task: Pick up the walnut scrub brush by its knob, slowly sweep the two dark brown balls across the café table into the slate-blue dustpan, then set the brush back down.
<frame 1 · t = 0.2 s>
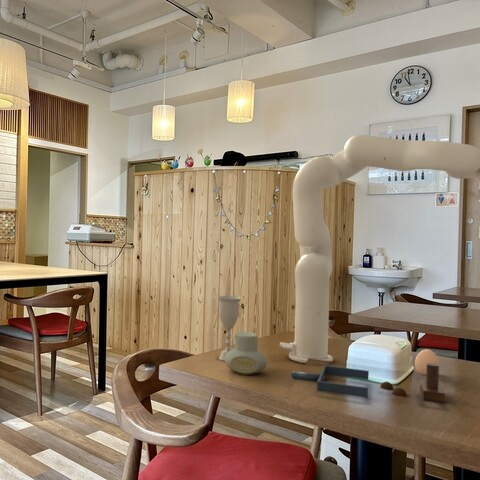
crumb b: (399, 394, 108), point 1 cm above the table
chalice: (227, 359, 142), on the table
crumb a: (386, 387, 113), point 1 cm above the table
dustpan: (344, 390, 115), on the table
brush: (431, 402, 107), on the table
air freshener: (245, 372, 128), on the table
egg: (426, 379, 127), on the table
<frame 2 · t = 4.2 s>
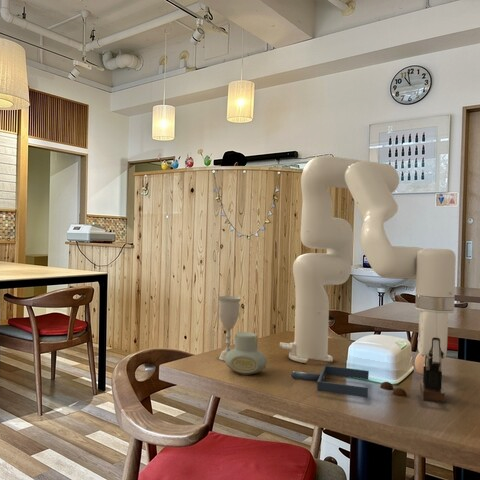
hand: (432, 386, 107), 4 cm above the table, tool pointing down, fingers closed on brush, 2 cm apart
brush: (431, 402, 107), on the table, touching gripper
everything else where it was.
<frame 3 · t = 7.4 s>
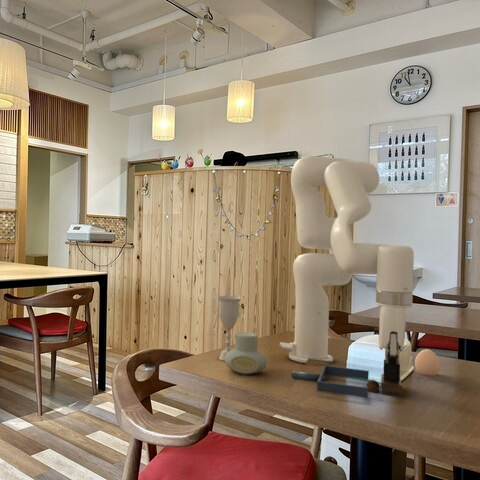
hand: (391, 378, 111), 4 cm above the table, tool pointing down, fingers closed on brush, 2 cm apart
crumb b: (372, 390, 110), point 1 cm above the table, tilted 135°
crumb a: (373, 386, 114), point 1 cm above the table, tilted 121°
brush: (390, 394, 111), on the table, touching gripper
everything else where it was.
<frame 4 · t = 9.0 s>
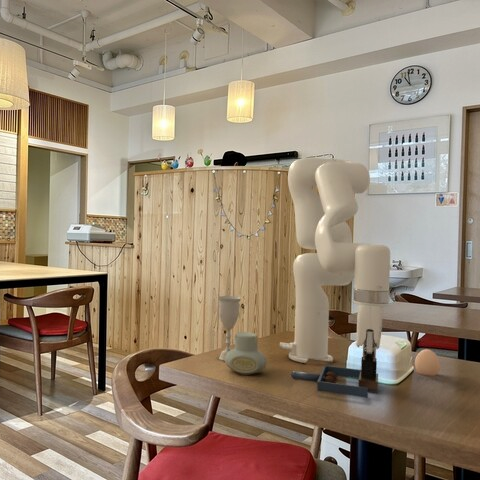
hand: (368, 375, 113), 4 cm above the table, tool pointing down, fingers closed on brush, 2 cm apart
crumb b: (329, 382, 114), point 2 cm above the table, tilted 110°, touching dustpan
crumb a: (330, 377, 119), point 2 cm above the table, tilted 152°, touching dustpan
brush: (368, 391, 113), on the table, touching gripper
everything else where it was.
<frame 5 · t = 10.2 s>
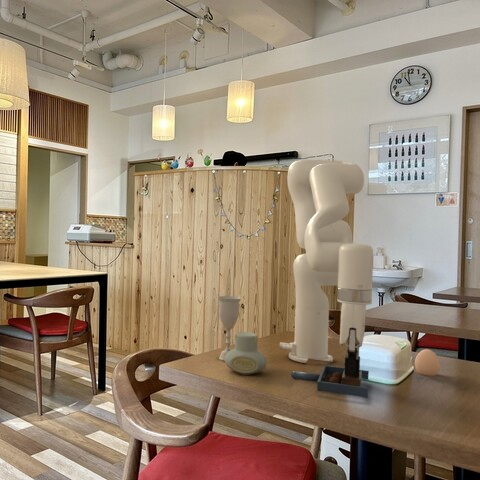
hand: (352, 373, 114), 4 cm above the table, tool pointing down, fingers closed on brush, 2 cm apart
crumb b: (335, 383, 114), point 2 cm above the table, tilted 161°, touching dustpan
crumb a: (337, 378, 118), point 2 cm above the table, tilted 91°, touching dustpan
brush: (351, 389, 114), on the table, touching gripper
everything else where it was.
when the fingers open (4 cm above the table, at t = 18.5 s): brush stays where it is, on the table.
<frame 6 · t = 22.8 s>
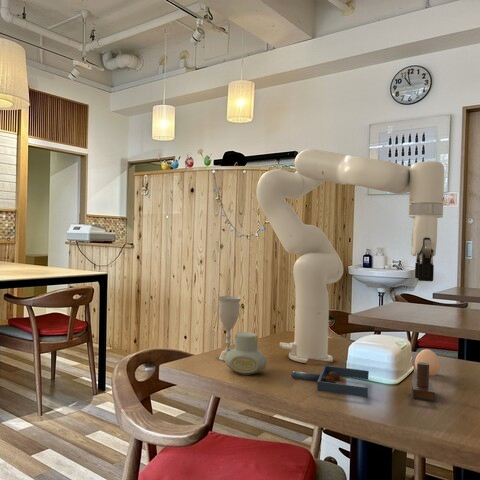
hand: (423, 279, 121), 26 cm above the table, tool pointing down, fingers open, 9 cm apart
crumb b: (329, 382, 114), point 2 cm above the table, tilted 110°, touching dustpan
crumb a: (333, 377, 119), point 2 cm above the table, tilted 128°, touching dustpan
brush: (422, 401, 108), on the table
everything else where it was.
at the end: crumb a inside the target area in the dustpan (4.3 cm from its centre), point 1.8 cm above the dustpan's base; crumb b inside the target area in the dustpan (3.8 cm from its centre), point 1.8 cm above the dustpan's base; the gripper is holding nothing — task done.
